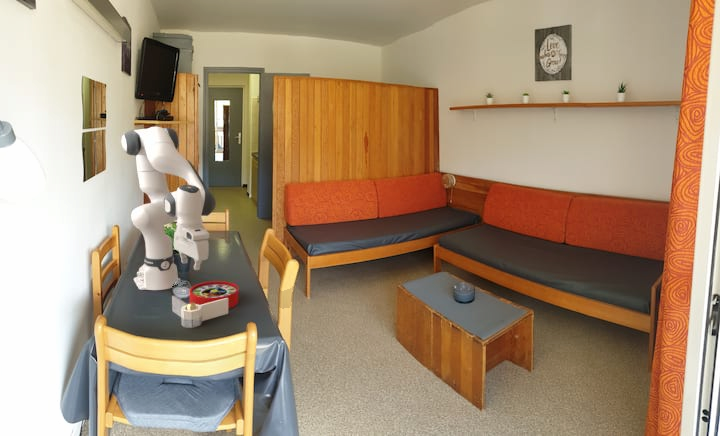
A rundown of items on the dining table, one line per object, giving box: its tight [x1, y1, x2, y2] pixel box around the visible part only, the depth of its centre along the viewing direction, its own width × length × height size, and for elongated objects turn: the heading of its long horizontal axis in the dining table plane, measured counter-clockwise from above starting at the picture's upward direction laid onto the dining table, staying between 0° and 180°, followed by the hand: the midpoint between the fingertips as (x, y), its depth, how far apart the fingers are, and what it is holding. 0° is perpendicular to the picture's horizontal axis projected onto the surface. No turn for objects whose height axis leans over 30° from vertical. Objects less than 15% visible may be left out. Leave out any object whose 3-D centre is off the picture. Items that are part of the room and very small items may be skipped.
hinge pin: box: [187, 302, 196, 310], centre depth 172 cm, size 3×3×8 cm
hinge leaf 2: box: [180, 298, 229, 322], centre depth 176 cm, size 7×19×6 cm, turn 137°
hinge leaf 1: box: [171, 295, 203, 329], centre depth 176 cm, size 19×7×6 cm, turn 47°
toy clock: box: [188, 280, 240, 309], centre depth 194 cm, size 20×6×20 cm
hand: (190, 266), depth 168 cm, fingers open, 8 cm apart
